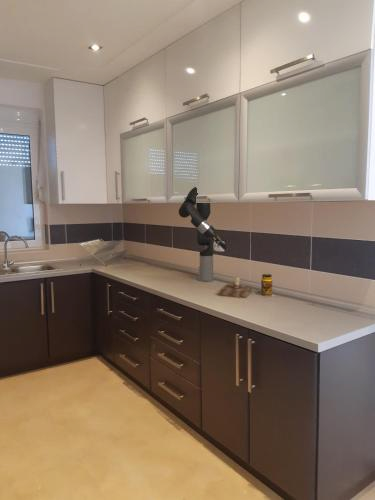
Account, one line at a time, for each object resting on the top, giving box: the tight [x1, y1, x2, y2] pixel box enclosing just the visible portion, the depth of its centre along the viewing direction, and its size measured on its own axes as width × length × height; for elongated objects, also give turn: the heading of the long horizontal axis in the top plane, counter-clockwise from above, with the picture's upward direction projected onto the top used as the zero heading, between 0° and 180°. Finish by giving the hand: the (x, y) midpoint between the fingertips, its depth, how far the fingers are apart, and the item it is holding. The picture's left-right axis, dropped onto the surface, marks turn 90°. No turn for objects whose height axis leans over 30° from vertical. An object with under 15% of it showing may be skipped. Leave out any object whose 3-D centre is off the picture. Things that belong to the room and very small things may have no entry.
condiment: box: [258, 273, 276, 298], centre depth 223 cm, size 7×8×12 cm
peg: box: [232, 276, 240, 289], centre depth 225 cm, size 4×4×10 cm
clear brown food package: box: [219, 284, 253, 299], centre depth 225 cm, size 15×14×4 cm
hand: (225, 247), depth 235 cm, fingers open, 8 cm apart
